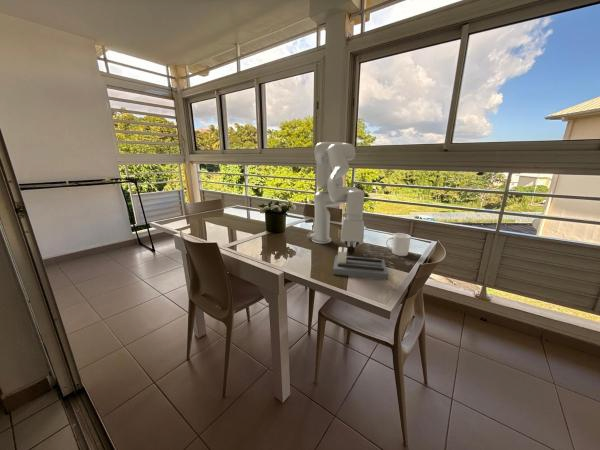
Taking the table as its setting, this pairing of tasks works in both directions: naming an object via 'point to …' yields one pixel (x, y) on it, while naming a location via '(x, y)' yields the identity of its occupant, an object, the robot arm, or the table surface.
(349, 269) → the breaker panel
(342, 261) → the breaker toggle
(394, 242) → the mug
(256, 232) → the table surface
